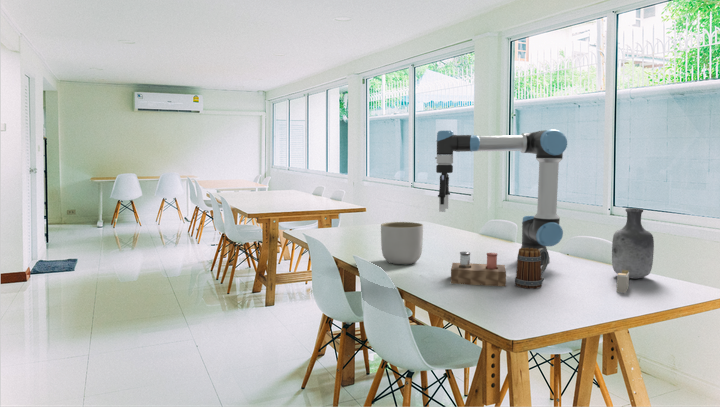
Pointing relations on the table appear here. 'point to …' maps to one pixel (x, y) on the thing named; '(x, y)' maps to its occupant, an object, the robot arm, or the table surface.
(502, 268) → the socket block
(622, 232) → the vase
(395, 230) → the planter
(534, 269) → the mug
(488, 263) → the plug red
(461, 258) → the plug grey
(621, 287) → the model
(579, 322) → the table surface
